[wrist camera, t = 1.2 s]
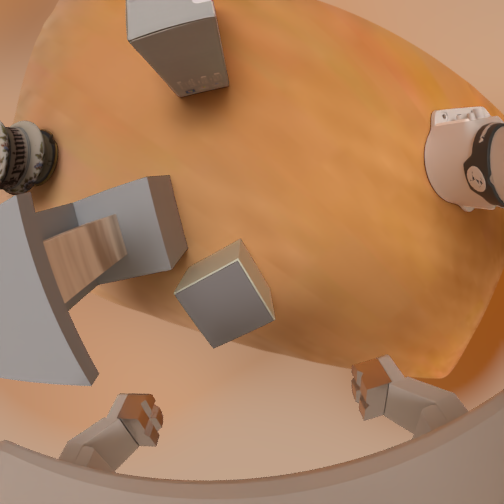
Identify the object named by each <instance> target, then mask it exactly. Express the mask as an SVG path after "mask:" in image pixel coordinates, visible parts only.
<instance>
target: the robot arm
mask: <svg viewBox="0 0 504 504" xmlns="http://www.w3.org/2000/svg"><path fill="white" fill-rule="evenodd" d="M442 115H443V117H444V118H443V117H442ZM425 166H426V171H427V175H428V178H429V181H430V183H431V185H432V187H433V188H434V190H435V191H436V193H437V194H438V195H439V196H440V197H441V198H443V199H444V200H446V201H448V202H450V203H455V204H457V205H459V206H460V207H461V208H462V209H463V210H464V211H466V212H471V211H472V210H473V209H474V208H481V209H488V210H493V209H495V207H496V206H498V207H500V208H504V122H503V121H502V120H501V119H500V118H499V117H498V116H490V114H489V113H488V111H487V110H486V109H485V108H484V107H465V108H454V109H444V110H436V111H433V112H432V116H431V130H430V133H429V135H428V138H427V141H426V145H425ZM352 374H353V376H354V378H353V379H352V393H353V396H354V399H355V401H356V402H358V403H359V411H360V413H361V415H362V417H363V419H364V420H368V419H371V418H375V417H378V416H381V415H384V416H385V417H387V418H389V419H390V420H392V421H393V422H395V423H397V424H398V425H400V426H401V427H403V428H405V429H406V430H408V431H410V432H412V433H413V434H414V435H413V438H412V439H411V440H409V441H407V442H404V443H402V444H399V445H397V446H394V447H391V448H388V449H386V450H383V451H380V452H377V453H374V454H371V455H368V456H364V457H361V458H358V459H354V460H351V461H347V462H344V463H340V464H336V465H332V466H327V467H323V468H319V469H314V470H309V471H304V472H298V473H293V474H286V475H280V476H271V477H263V478H254V479H253V478H252V479H240V480H215V481H195V480H193V481H192V480H171V479H158V478H148V477H139V476H132V475H125V474H119V473H116V472H115V470H116V469H117V468H118V467H119V466H120V465H121V464H122V463H123V462H124V461H125V460H126V459H127V458H128V457H129V456H130V455H131V454H132V453H133V452H134V451H135V450H136V449H137V448H138V447H139V446H157V442H158V439H159V433H158V432H157V431H158V430H159V429H160V428H162V425H163V415H162V412H161V410H160V408H159V407H158V406H156V405H155V404H154V403H155V399H154V397H153V395H151V394H125V393H120V394H119V395H118V396H117V398H116V400H115V401H114V404H113V405H112V407H111V410H110V411H109V414H108V415H107V417H106V418H102V419H101V420H99V421H98V422H96V423H95V424H93V425H92V426H91V427H89V428H88V429H86V430H85V431H83V432H82V433H80V434H79V435H77V436H76V437H74V438H72V439H71V440H69V441H68V442H67V444H66V446H65V448H64V450H63V452H62V453H61V455H60V457H59V459H56V458H53V457H50V456H46V455H43V454H41V453H38V452H35V451H32V450H30V449H27V448H24V447H22V446H19V445H17V444H15V443H13V442H10V441H7V440H4V441H1V442H0V504H504V389H503V390H502V391H500V392H499V393H497V394H496V395H494V396H493V397H491V398H490V399H488V400H487V401H485V402H484V403H482V404H480V405H479V406H477V407H475V408H474V409H472V410H470V411H468V410H467V409H466V408H465V407H464V405H463V404H462V403H461V401H460V400H459V399H458V398H457V396H456V395H455V394H454V393H452V392H449V391H446V390H443V389H440V388H438V387H435V386H432V385H429V384H427V383H424V382H421V381H418V380H416V379H413V378H410V377H406V378H405V377H404V376H403V374H402V373H401V371H400V370H399V369H398V367H397V366H396V364H395V363H394V362H393V360H392V359H391V357H390V356H389V355H384V356H381V357H378V358H376V359H372V360H368V361H365V362H362V363H358V364H354V365H352Z"/></svg>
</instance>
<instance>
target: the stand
mask: <svg viewBox="0 0 504 504" xmlns="http://www.w3.org/2000/svg"><path fill="white" fill-rule="evenodd" d="M174 295H175V296H176V298H177V299H178V301H179V302H180V303H181V305H182V306H183V308H184V309H185V311H186V312H187V313H188V315H189V316H190V318H191V319H192V320H193V322H194V323H195V325H196V326H197V327H198V329H199V330H200V331H201V333H202V334H203V335H204V337H205V338H206V339H207V341H208V342H209V343H210V345H211V346H212V347H213V348H216V347H218V346H220V345H223V344H225V343H227V342H229V341H232V340H234V339H236V338H238V337H240V336H242V335H245V334H247V333H249V332H251V331H253V330H255V329H257V328H259V327H262V326H264V325H266V324H268V323H270V322H272V321H274V320H275V314H274V308H273V302H272V297H271V291H270V288H269V286H268V285H267V283H266V281H265V279H264V278H263V276H262V274H261V273H260V271H259V269H258V267H257V266H256V264H255V262H254V261H253V259H252V257H251V255H250V254H249V252H248V250H247V249H246V247H245V245H244V243H243V242H242V240H241V239H239V240H237V241H235V242H233V243H232V244H230V245H228V246H226V247H224V248H223V249H221V250H219V251H217V252H215V253H214V254H212V255H210V256H208V257H206V258H205V259H203V260H201V261H199V262H197V263H196V264H194V265H192V266H190V267H189V268H188V269H187V271H186V273H185V274H184V276H183V278H182V279H181V281H180V283H179V285H178V286H177V288H176V290H175V291H174Z"/></svg>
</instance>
